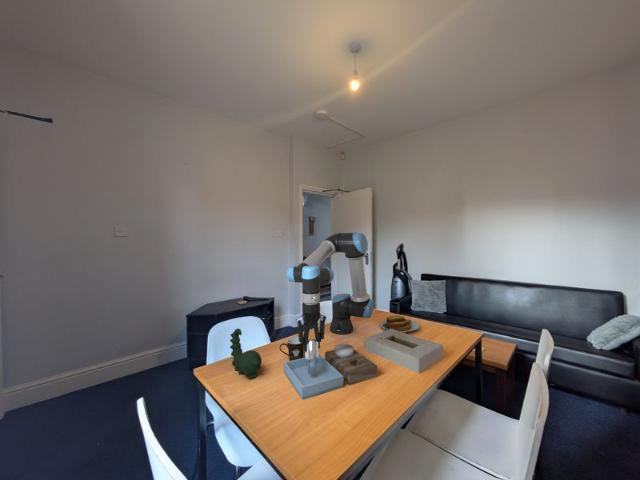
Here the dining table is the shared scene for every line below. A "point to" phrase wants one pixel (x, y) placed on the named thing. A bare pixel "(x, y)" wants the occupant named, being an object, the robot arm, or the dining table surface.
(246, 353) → the toy figurine
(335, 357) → the block
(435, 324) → the dining table surface
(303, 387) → the tray
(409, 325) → the food on plate
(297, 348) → the coffee mug
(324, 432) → the dining table surface
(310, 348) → the lock pin
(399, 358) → the slotted block
